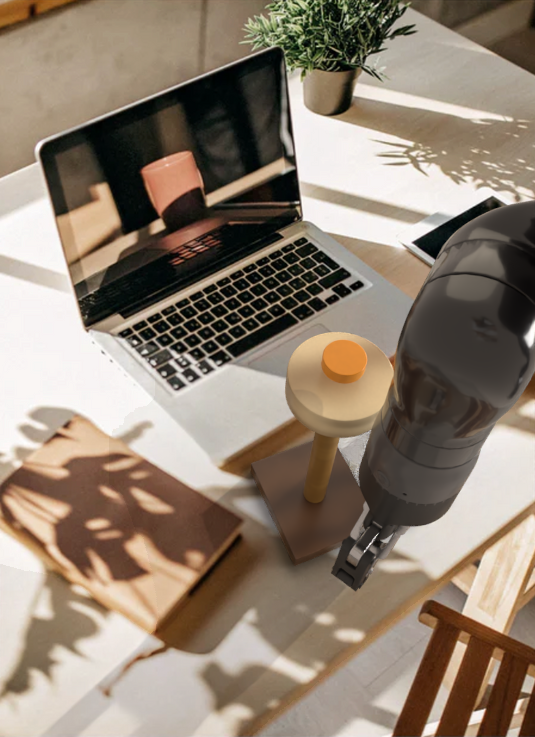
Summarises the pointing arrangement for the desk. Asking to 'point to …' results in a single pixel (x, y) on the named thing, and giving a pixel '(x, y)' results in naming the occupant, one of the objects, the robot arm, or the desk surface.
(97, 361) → the desk surface
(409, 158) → the desk surface
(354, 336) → the desk lamp
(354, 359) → the light button
